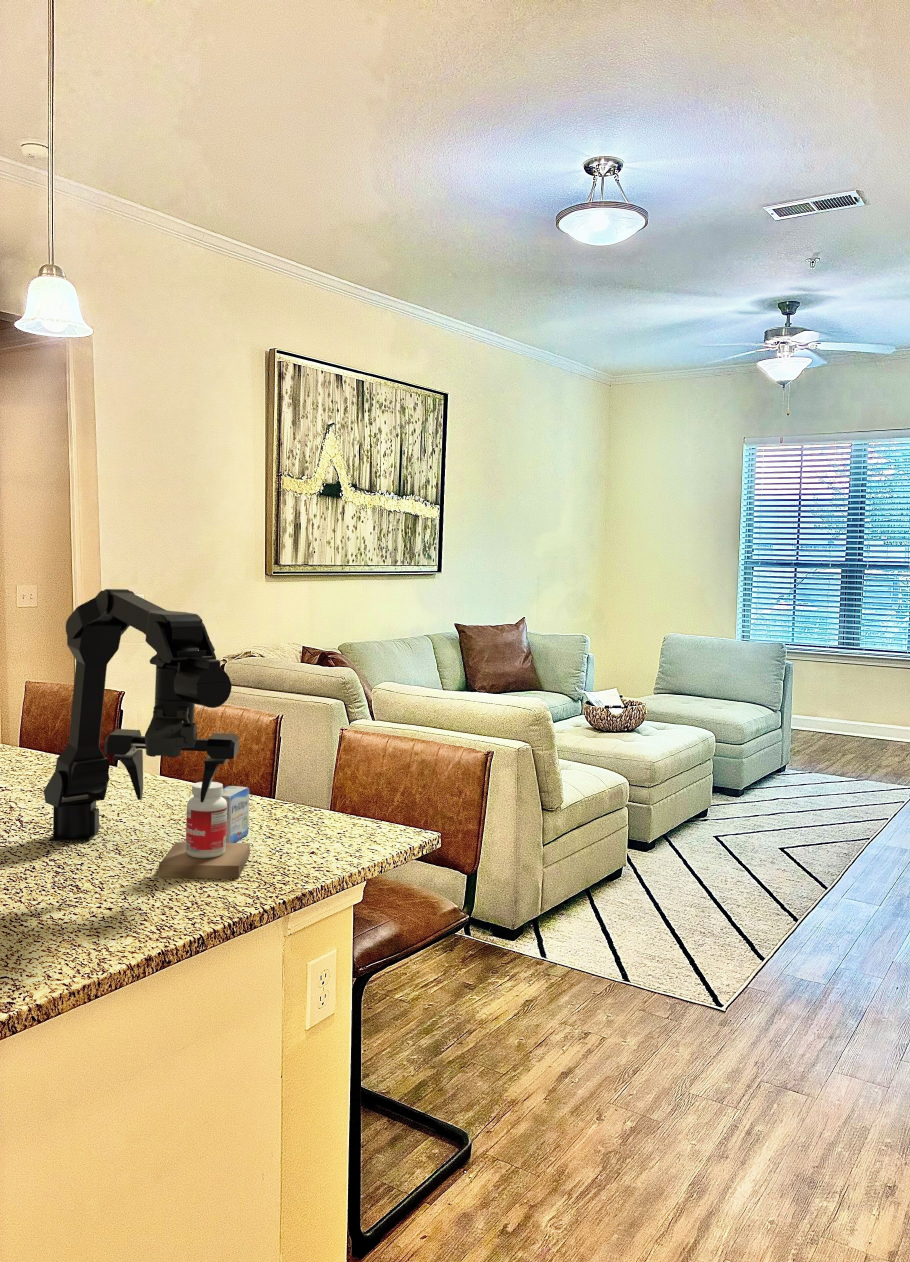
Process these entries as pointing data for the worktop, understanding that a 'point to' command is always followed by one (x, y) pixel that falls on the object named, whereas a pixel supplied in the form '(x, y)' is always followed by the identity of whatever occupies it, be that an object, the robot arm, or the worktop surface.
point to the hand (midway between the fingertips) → (171, 800)
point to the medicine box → (236, 812)
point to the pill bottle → (206, 822)
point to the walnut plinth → (204, 863)
